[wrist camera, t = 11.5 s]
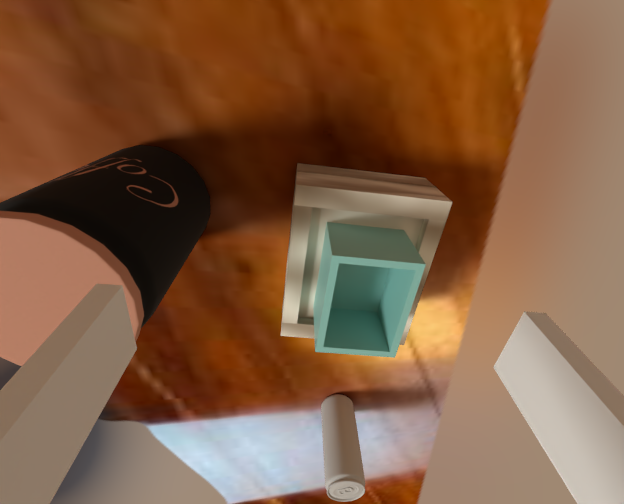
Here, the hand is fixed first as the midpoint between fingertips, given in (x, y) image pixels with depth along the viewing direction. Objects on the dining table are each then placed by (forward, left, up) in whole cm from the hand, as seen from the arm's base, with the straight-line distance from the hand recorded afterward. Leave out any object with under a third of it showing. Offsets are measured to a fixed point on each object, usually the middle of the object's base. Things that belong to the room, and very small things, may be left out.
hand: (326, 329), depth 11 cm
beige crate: (+8, +5, -24) cm, 26 cm away
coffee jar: (+5, -15, -24) cm, 29 cm away
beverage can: (+35, +8, -24) cm, 44 cm away
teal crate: (+9, +5, -18) cm, 21 cm away
